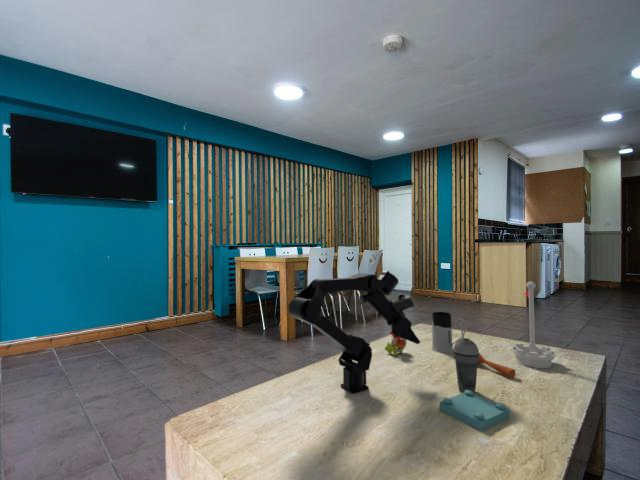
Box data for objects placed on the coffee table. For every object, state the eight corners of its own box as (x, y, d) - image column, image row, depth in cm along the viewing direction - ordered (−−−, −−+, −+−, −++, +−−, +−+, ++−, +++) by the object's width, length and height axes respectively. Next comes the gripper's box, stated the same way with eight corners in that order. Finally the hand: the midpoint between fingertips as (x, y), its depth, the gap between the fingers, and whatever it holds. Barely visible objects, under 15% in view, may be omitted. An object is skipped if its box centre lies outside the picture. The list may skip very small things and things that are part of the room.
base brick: (481, 430, 76) (481, 418, 77) (439, 409, 87) (439, 398, 87) (510, 416, 83) (509, 405, 83) (467, 398, 93) (467, 388, 93)
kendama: (505, 368, 105) (456, 347, 123) (506, 385, 106) (458, 361, 124) (517, 362, 107) (467, 342, 125) (519, 379, 108) (469, 356, 126)
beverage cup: (477, 399, 92) (475, 328, 93) (450, 392, 97) (449, 324, 97) (482, 389, 98) (481, 323, 99) (457, 384, 103) (456, 320, 103)
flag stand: (562, 369, 113) (560, 283, 114) (522, 368, 115) (519, 283, 116) (543, 357, 126) (541, 279, 127) (507, 356, 128) (505, 279, 129)
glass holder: (435, 344, 144) (435, 310, 144) (469, 351, 135) (469, 314, 135) (428, 349, 137) (427, 314, 137) (463, 356, 128) (462, 318, 128)
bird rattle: (395, 355, 137) (379, 350, 133) (403, 329, 139) (387, 323, 135) (406, 359, 131) (390, 354, 127) (413, 333, 134) (398, 326, 130)
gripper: (402, 291, 97) (441, 328, 96) (395, 284, 116) (427, 315, 114) (376, 317, 98) (414, 354, 97) (373, 306, 117) (405, 337, 115)
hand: (416, 338), depth 106 cm, fingers open, 9 cm apart
